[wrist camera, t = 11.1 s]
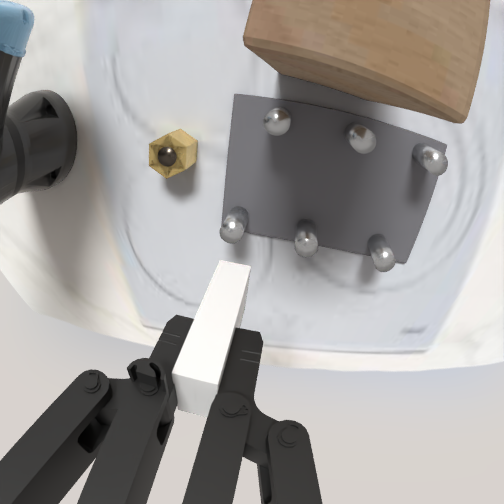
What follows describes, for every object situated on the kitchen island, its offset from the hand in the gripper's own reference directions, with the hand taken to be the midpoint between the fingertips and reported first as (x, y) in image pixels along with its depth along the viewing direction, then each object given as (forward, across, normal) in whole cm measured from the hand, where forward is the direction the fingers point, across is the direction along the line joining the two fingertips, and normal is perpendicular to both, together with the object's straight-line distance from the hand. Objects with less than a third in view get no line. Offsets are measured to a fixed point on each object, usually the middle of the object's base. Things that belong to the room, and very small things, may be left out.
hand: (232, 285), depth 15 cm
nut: (+21, -11, +1) cm, 23 cm away
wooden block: (+21, +4, +15) cm, 26 cm away
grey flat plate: (+20, +7, 0) cm, 22 cm away
